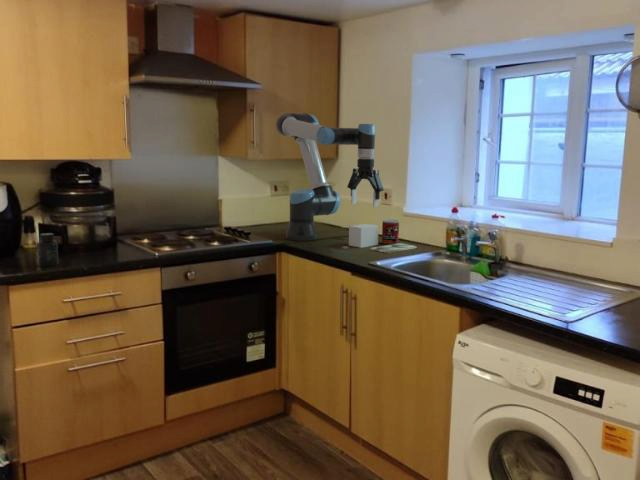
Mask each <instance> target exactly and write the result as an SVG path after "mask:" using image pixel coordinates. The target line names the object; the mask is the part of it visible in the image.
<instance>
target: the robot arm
mask: <svg viewBox="0 0 640 480" xmlns="http://www.w3.org/2000/svg"><path fill="white" fill-rule="evenodd" d="M275 128H276V131H277V132H278V134H280V135H281V136H283V137H289V138H290V137H291V138H292V137H293V140H294V142H295V144H298V145H299V149H300V153H301V156H302V159H303V163H304V167H305V171H306V175H307V177H308V182H309V186H310V188H309V189H308V188H307V189H299V190H294V191H293V192H291V193H290V195H289V223H288V228H287V231H286V233H285V239H287V240H290V241H299V242H300V241H302V242H304V241H307V242H309V241H314V240H315V241H316V240H317V239H318V234H317V231H316V226H315V221H314V218H315V217H317V216H328V215H329V216H330V215H334V214H336V213H337V211H338V210H339V208H340V206H341V197H340V194H339V193H338V192H337V191H336V190H333V187H332V185H331V184H329V183H328V179H327V177H326V173H325V169H324V166H323V163H322V159H321V155H320V152H319V148H318V145H317V142H318V144H320V145H324V146H329V145H332V146H333V145H334V146H335V145H339V146H341V145H342V146H343V145H344V146H345V145H348V146H350V145H351V146H352V145H353V146H355V145H357V161H356V162H357V168H353V169H352V173H351V177H350V178H349V181H348V183H347V189H350V197H351V198H350V199H351V200H350V201H351V203H350V204H351V205H356V204H357V198H358V197H357V195H358V190H357V187H358V186H359V184H360V183H361V182H362V180H367V181H368V182H369V183H370V186H371V187H372V189H373V193H372V195H373V196H372V207H373V208H376V207H379V200H380V194H381V193H380V192H383V191H384V187H383V183H382V181H381V178H380V171H379V170H378V169H374V167H375V159H374V158H375V141H376V125H375V124H373V123H358V127H357V128H356V127H330V126H325V125H320V123H319V120H318V118H317V117H316V116H315V115H314V114H310V113H307V112H306V113H305V112H304V113H298V112H297V113H296V112H295V113H294V112H292V113H291V112H286V113H283V114H281V115H280V116H278V118H277V119H276V122H275Z"/></svg>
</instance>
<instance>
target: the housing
mask: <svg viewBox="0 0 640 480" xmlns="http://www.w3.org/2000/svg"><path fill="white" fill-rule="evenodd" d="M348 246H351V247H354V248H367V247H374V246H379V225H376V224H370V223H361V224H354V225H349V227H348Z"/></svg>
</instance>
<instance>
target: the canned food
mask: <svg viewBox="0 0 640 480" xmlns="http://www.w3.org/2000/svg"><path fill="white" fill-rule="evenodd" d="M381 225H382V226H381V227H382V228H381V229H382V230H381V243H382V245H384V246H386V245H392V244H398V243H399V231H400V230H399V229H400V221H399V220H398V219H392V218H391V219H383V220H382V224H381Z"/></svg>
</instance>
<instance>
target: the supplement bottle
mask: <svg viewBox="0 0 640 480" xmlns="http://www.w3.org/2000/svg"><path fill="white" fill-rule="evenodd" d="M39 240H40V241H38V243H37V256H38V259H37V260H38V267H40V266H41V268H53V267H52V266H54V267H57V266H58V265H59V250H58V248H59V245H58V242H57V240H55V234H54V233H52V232H47V233H46V232H45V233H39Z"/></svg>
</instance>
